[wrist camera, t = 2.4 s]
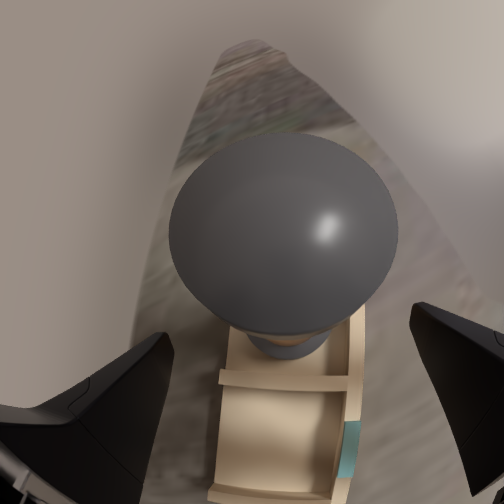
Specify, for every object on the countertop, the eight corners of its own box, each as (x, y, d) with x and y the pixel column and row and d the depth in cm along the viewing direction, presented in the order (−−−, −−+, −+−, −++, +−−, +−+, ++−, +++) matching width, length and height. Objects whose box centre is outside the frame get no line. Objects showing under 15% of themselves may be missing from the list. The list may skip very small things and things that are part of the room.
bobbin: (330, 361, 17) (410, 332, 5) (241, 356, 18) (147, 319, 6) (331, 277, 19) (376, 137, 8) (249, 274, 20) (194, 137, 9)
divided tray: (338, 496, 13) (344, 511, 10) (216, 488, 14) (205, 502, 12) (354, 258, 21) (362, 241, 18) (241, 255, 22) (234, 238, 19)
